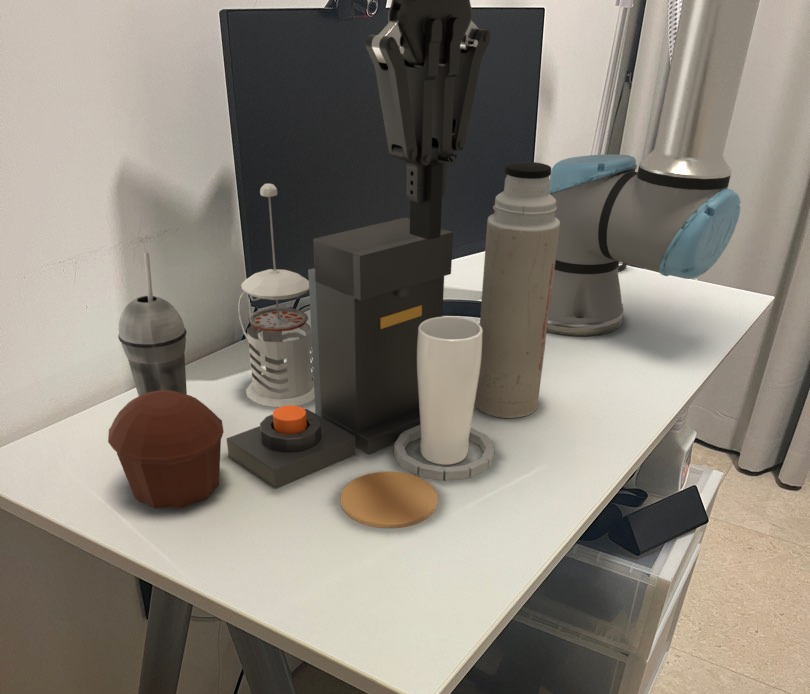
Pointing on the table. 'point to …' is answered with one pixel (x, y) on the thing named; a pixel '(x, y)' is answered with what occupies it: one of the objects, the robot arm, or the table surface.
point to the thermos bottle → (517, 291)
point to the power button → (289, 419)
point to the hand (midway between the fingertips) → (424, 235)
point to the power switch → (290, 449)
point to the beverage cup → (154, 342)
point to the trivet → (389, 499)
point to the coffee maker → (378, 336)
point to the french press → (278, 336)
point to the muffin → (168, 448)
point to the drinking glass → (447, 385)
